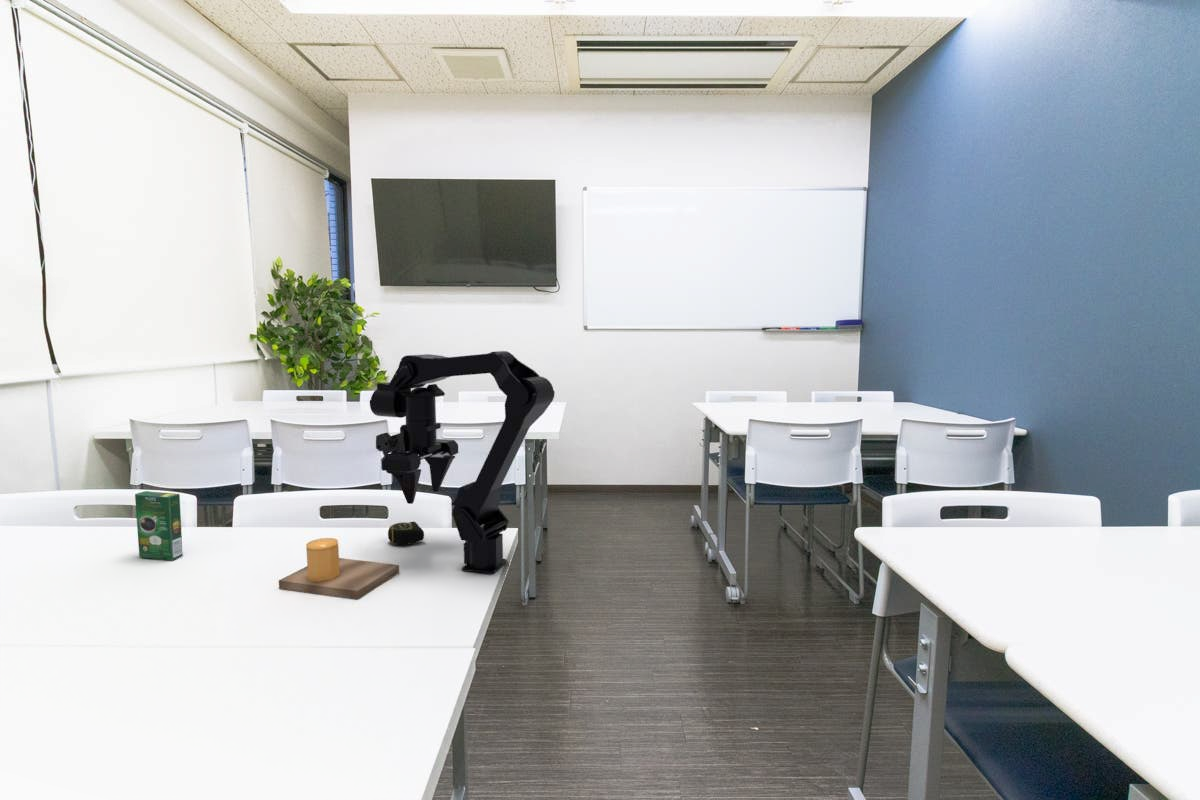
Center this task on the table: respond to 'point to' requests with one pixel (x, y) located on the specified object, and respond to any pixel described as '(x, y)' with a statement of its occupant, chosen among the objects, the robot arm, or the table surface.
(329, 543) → the orange wooden cylinder
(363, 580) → the wooden board with peg
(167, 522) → the coffee box
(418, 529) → the tape measure
